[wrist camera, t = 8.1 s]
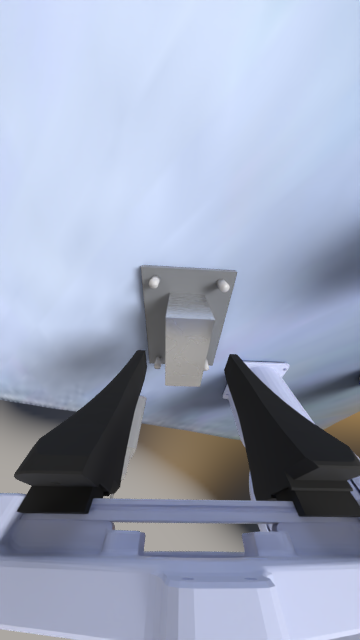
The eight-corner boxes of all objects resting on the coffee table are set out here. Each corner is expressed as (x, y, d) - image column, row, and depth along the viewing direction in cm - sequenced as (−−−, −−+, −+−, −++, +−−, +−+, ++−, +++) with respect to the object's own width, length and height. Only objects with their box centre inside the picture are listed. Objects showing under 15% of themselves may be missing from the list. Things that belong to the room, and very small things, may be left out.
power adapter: (126, 408, 28) (94, 509, 17) (130, 394, 25) (96, 504, 15) (141, 410, 28) (119, 510, 18) (147, 397, 25) (125, 505, 15)
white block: (195, 351, 18) (199, 386, 14) (168, 350, 18) (165, 385, 14) (204, 294, 14) (214, 319, 10) (170, 292, 14) (165, 317, 10)
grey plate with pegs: (211, 361, 20) (214, 374, 18) (150, 358, 20) (147, 372, 18) (234, 270, 13) (243, 276, 11) (142, 264, 13) (136, 270, 11)
